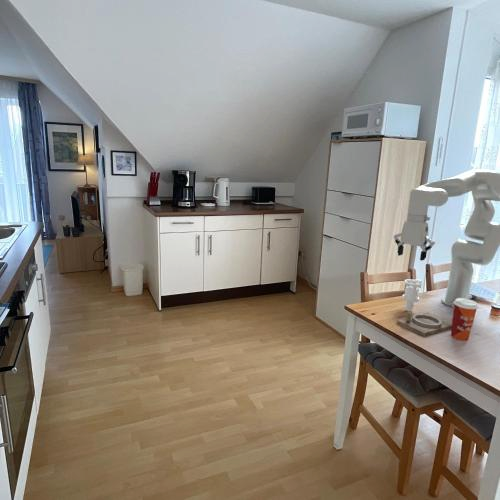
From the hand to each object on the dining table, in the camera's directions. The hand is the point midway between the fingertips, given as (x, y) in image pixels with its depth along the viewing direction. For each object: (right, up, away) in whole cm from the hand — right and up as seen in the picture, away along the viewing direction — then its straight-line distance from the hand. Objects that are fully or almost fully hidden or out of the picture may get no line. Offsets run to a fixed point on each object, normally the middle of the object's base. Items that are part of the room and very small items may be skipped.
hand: (411, 257), depth 156 cm
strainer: (+4, -25, +11) cm, 27 cm away
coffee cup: (+13, -31, -14) cm, 37 cm away
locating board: (+4, -28, -5) cm, 29 cm away
